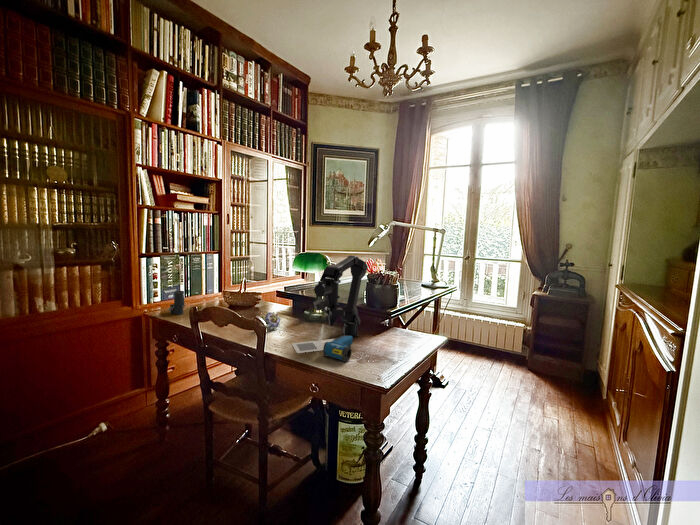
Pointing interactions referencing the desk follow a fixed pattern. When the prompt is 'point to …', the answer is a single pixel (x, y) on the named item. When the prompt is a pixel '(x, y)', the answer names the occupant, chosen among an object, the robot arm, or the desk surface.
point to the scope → (177, 303)
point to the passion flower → (272, 320)
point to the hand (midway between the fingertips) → (331, 325)
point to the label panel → (310, 346)
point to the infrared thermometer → (339, 348)
